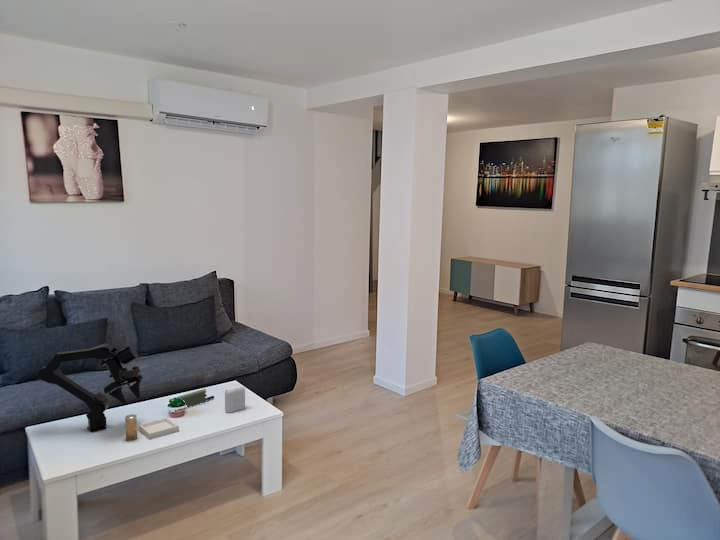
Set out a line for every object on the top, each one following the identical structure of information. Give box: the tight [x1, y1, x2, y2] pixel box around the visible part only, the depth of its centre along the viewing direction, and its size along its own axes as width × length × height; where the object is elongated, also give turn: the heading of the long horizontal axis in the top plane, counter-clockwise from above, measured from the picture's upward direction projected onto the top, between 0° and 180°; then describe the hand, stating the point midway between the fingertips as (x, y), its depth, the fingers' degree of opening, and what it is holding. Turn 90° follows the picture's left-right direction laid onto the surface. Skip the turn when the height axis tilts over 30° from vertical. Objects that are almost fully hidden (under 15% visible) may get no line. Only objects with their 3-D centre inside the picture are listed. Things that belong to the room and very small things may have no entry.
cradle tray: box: [137, 417, 180, 440], centre depth 236 cm, size 13×13×2 cm
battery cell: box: [124, 414, 138, 442], centre depth 226 cm, size 4×4×10 cm
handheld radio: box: [168, 388, 215, 408], centre depth 267 cm, size 7×3×25 cm
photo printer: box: [224, 384, 246, 414], centre depth 260 cm, size 10×4×12 cm, turn 134°
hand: (132, 400), depth 233 cm, fingers open, 9 cm apart
